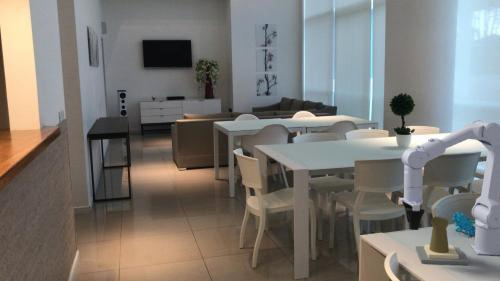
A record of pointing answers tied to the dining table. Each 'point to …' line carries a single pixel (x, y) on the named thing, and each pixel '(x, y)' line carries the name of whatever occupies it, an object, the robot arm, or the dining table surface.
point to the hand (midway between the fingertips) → (412, 225)
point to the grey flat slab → (441, 256)
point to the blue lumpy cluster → (464, 224)
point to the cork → (439, 235)
